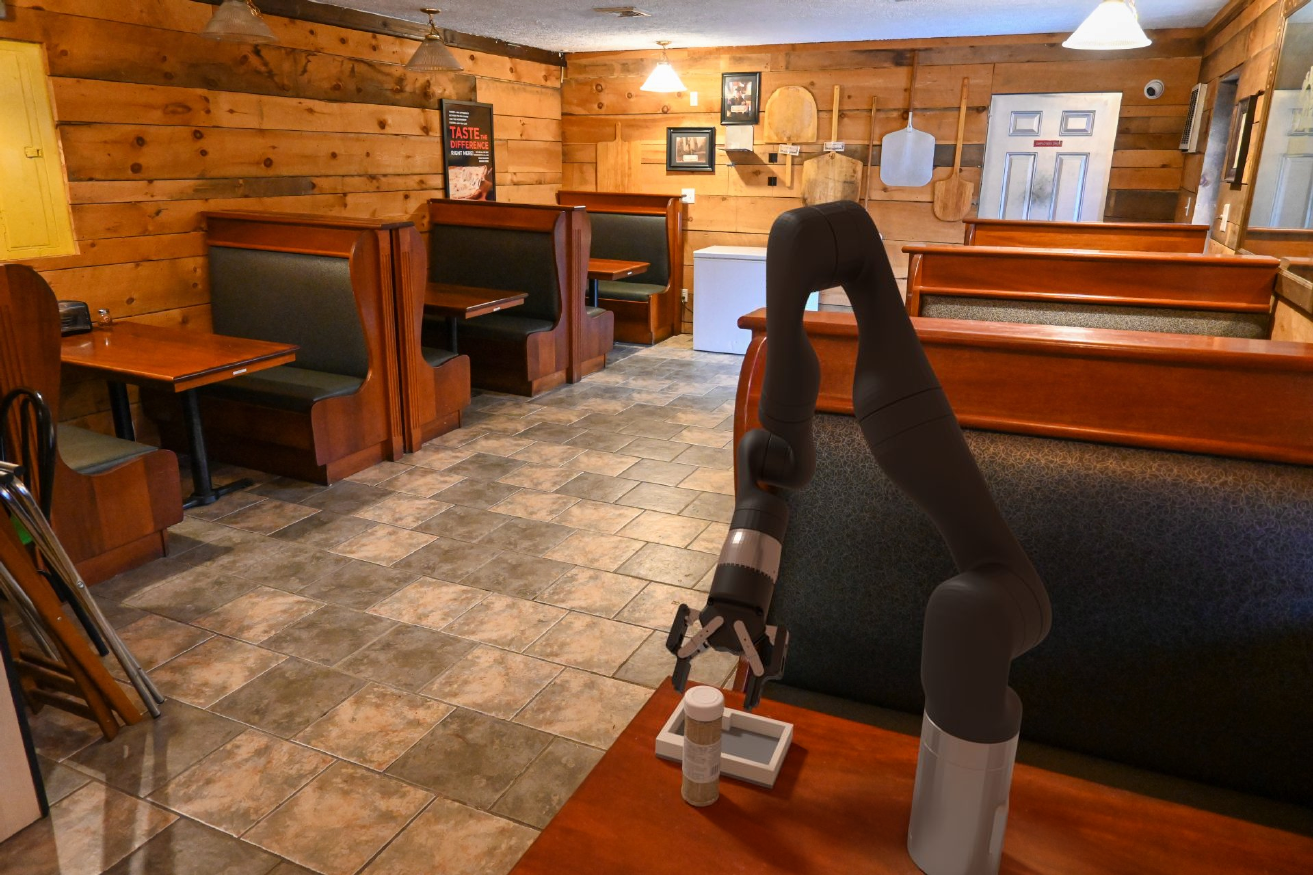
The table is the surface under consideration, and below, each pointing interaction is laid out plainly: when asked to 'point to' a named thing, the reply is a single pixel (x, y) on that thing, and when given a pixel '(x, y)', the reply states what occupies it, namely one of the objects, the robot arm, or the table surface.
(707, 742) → the sprinkles bottle
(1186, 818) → the table surface
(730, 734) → the shallow tray
